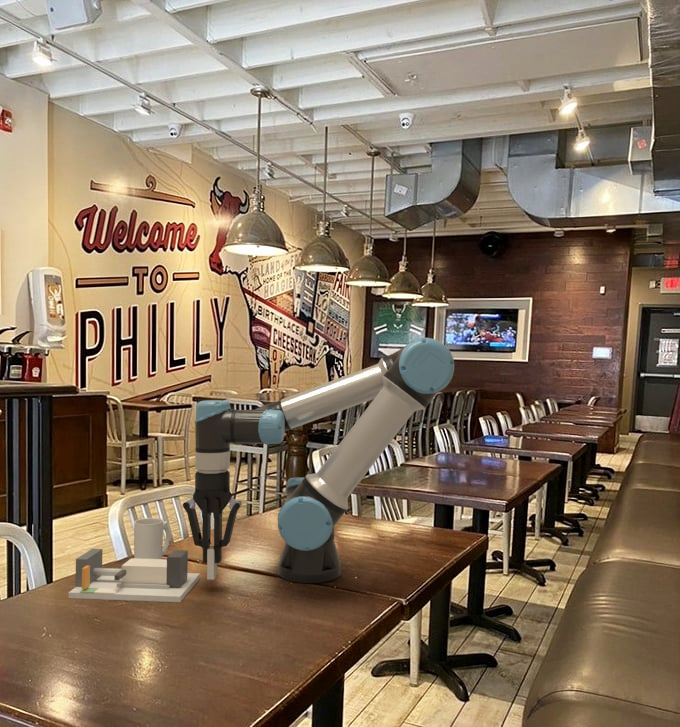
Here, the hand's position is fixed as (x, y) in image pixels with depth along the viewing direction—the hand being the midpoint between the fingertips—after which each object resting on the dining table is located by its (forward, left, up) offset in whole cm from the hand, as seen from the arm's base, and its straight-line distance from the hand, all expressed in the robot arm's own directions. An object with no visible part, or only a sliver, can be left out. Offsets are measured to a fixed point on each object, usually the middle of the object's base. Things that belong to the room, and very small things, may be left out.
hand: (212, 577), depth 141 cm
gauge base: (+17, 0, -3) cm, 17 cm away
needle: (+26, +6, -1) cm, 26 cm away
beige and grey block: (+13, +2, -1) cm, 13 cm away
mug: (+18, -13, -3) cm, 22 cm away
